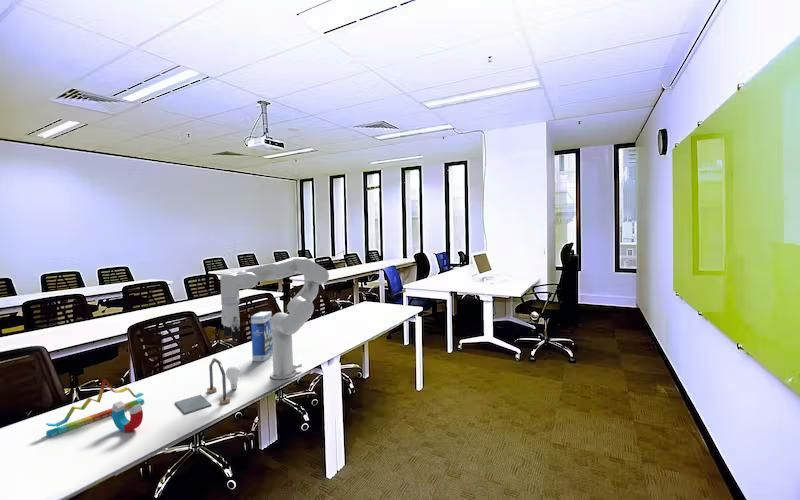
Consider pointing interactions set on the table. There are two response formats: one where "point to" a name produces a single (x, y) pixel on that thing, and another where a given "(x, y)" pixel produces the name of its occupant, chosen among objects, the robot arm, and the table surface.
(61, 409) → the table surface
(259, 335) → the string lights box
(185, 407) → the mat
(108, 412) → the chart
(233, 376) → the lightbulb
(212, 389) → the wire arch
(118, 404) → the magnet
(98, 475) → the table surface
